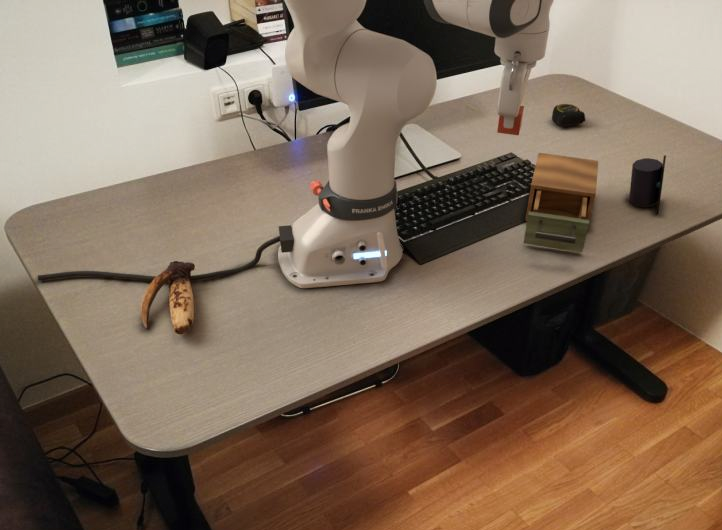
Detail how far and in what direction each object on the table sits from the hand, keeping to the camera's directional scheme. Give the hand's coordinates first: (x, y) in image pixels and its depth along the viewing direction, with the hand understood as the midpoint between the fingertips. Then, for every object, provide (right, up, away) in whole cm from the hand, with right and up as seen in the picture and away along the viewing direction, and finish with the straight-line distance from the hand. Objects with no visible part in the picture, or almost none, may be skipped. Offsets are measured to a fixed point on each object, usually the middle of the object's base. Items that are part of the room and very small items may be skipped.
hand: (510, 120), depth 127 cm
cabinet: (+12, -14, +12) cm, 22 cm away
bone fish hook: (-58, -36, -14) cm, 69 cm away
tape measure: (+20, +13, +42) cm, 48 cm away
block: (0, -1, +1) cm, 2 cm away
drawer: (+9, -21, +3) cm, 23 cm away
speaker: (+29, -13, +15) cm, 35 cm away
